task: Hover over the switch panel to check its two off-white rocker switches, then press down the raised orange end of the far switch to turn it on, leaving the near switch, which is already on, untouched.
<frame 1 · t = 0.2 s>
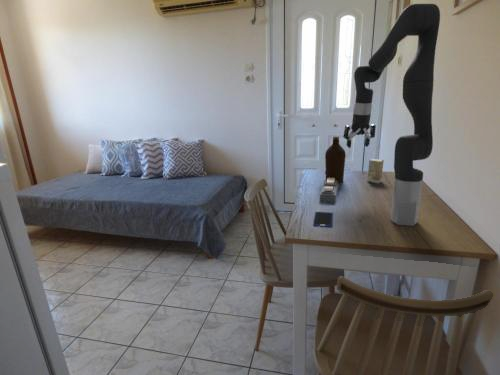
hand: (357, 146, 144), 23 cm above the table, tool pointing down, fingers open, 8 cm apart
cell phone: (323, 220, 122), on the table
olive oil: (334, 181, 169), on the table
near switch: (328, 188, 143), point 5 cm above the table, hinge at 9.0°
skincare box: (374, 182, 165), on the table
switch panel: (329, 193, 150), on the table
far switch: (330, 181, 154), point 5 cm above the table, hinge at -9.0°
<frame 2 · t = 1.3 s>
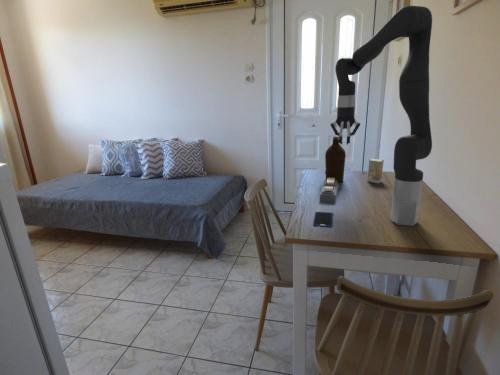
hand: (344, 144, 140), 25 cm above the table, tool pointing down, fingers closed
nothing on the table moved.
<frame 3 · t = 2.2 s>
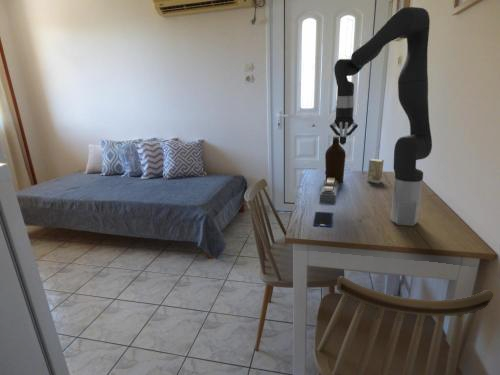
hand: (342, 144, 141), 25 cm above the table, tool pointing down, fingers closed
nothing on the table moved.
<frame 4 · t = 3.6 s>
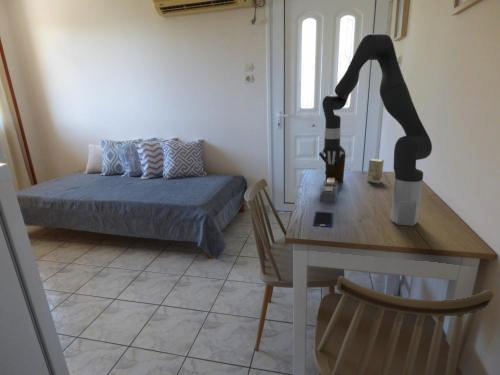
hand: (331, 170, 154), 10 cm above the table, tool pointing down, fingers closed
nothing on the table moved.
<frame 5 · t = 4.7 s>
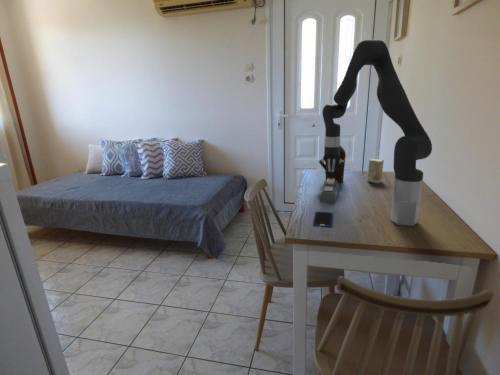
hand: (331, 178, 156), 6 cm above the table, tool pointing down, fingers closed
far switch: (330, 181, 154), point 5 cm above the table, hinge at -7.0°, touching gripper
everything else where it was.
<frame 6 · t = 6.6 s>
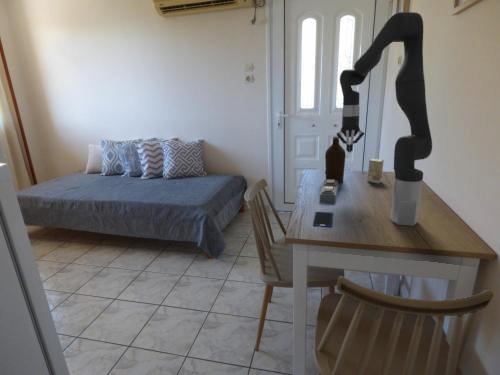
hand: (349, 152, 144), 21 cm above the table, tool pointing down, fingers closed
far switch: (330, 181, 154), point 5 cm above the table, hinge at 13.9°
everything else where it was.
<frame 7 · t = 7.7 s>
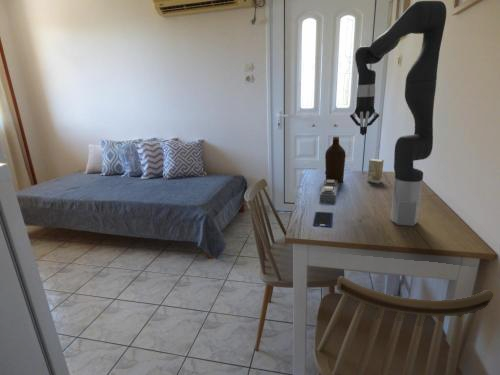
hand: (363, 134, 138), 29 cm above the table, tool pointing down, fingers closed
far switch: (330, 181, 154), point 5 cm above the table, hinge at 15.8°
everything else where it was.
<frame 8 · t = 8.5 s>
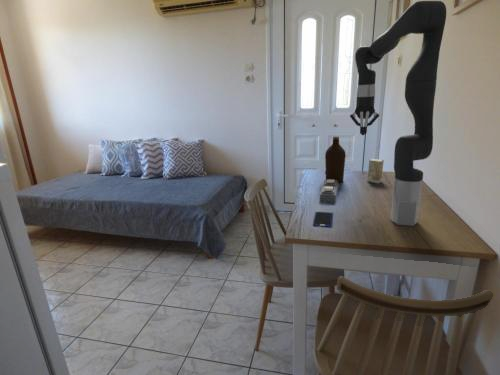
hand: (363, 134, 138), 29 cm above the table, tool pointing down, fingers closed
far switch: (330, 181, 154), point 5 cm above the table, hinge at 12.9°
everything else where it was.
at the end: far switch at +13° (first picture: -9°); near switch at +9° (first picture: +9°) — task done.
